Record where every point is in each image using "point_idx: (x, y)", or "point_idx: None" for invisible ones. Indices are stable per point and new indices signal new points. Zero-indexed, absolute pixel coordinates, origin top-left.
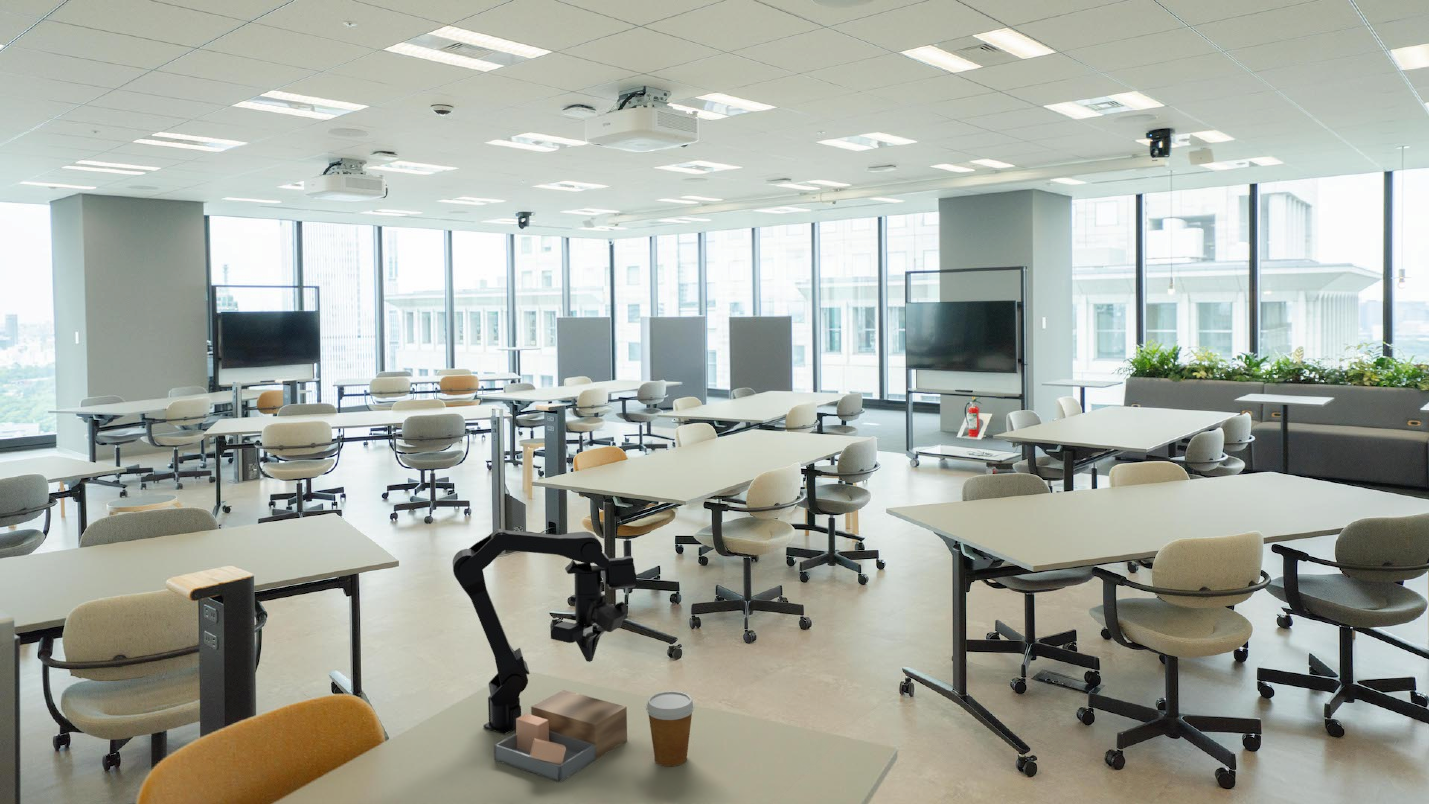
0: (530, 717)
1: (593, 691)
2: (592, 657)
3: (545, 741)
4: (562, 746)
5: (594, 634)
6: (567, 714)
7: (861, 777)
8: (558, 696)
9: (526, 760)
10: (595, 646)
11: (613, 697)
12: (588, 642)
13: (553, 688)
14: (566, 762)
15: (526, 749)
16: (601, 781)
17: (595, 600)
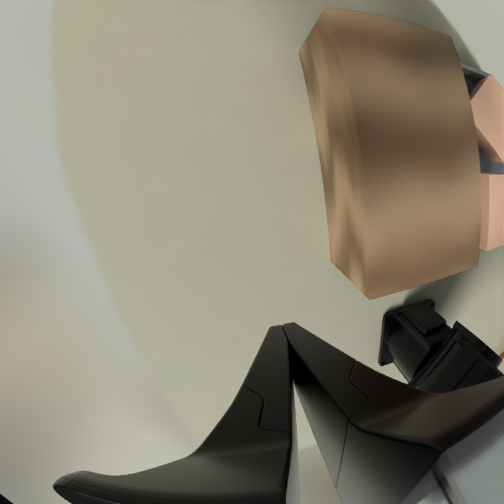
0: (495, 224)
1: (156, 345)
2: (276, 334)
3: (499, 131)
4: (486, 90)
5: (491, 420)
6: (470, 139)
7: None
8: (414, 266)
9: None
10: (265, 380)
11: (137, 282)
12: (418, 391)
13: (217, 408)
14: (479, 70)
15: None
16: (429, 20)
17: None
